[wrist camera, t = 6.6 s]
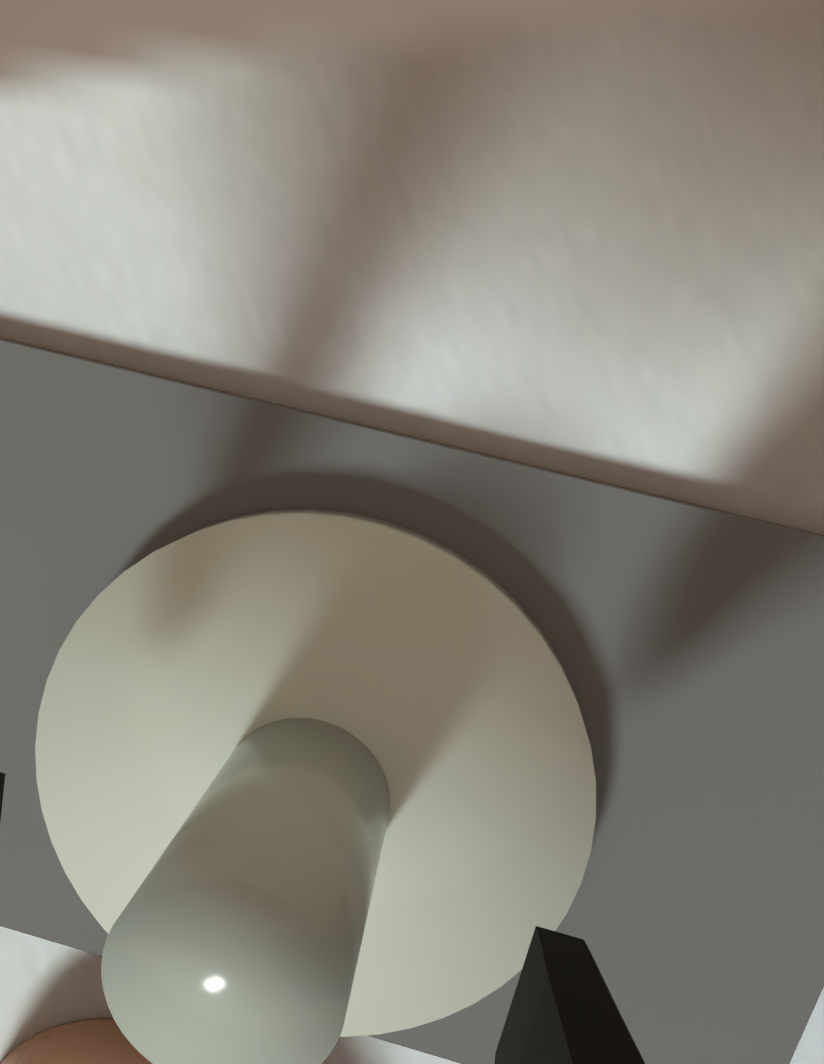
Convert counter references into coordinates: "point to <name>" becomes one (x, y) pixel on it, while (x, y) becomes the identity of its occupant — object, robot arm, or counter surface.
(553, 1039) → the robot arm
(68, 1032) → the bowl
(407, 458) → the mat
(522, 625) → the lid
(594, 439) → the counter surface
